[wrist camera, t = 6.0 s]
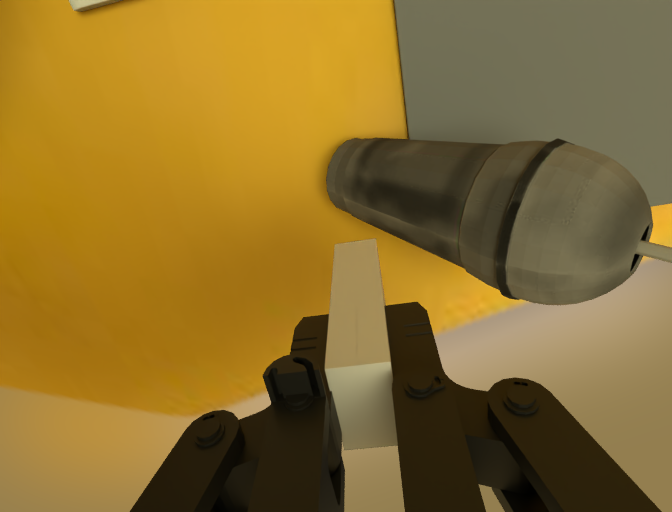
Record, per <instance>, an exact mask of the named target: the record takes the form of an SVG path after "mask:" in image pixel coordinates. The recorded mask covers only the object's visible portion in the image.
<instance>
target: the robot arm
mask: <svg viewBox="0 0 672 512" xmlns="http://www.w3.org/2000/svg"><path fill="white" fill-rule="evenodd" d="M263 379H264V382H265V385H266V388H267V391H268V394H269V397H270V400H271V405H270V406H269V407H267V408H266V409H264V410H262V411H260V412H258V413H256V414H253V415H251V416H248V417H245V418H242V419H240V420H238V418H237V417H236V416H235V415H234V414H233V413H232V412H229V411H225V410H219V411H212V412H209V413H207V414H204V415H202V416H201V417H199V418H198V419H196V420H195V421H193V422H192V423H191V425H190V426H189V427H188V428H187V429H186V430H185V431H184V433H183V434H182V436H181V437H180V439H179V440H178V442H177V443H176V445H175V446H174V448H173V449H172V450H171V452H170V453H169V455H168V456H167V458H166V459H165V461H164V462H163V464H162V465H161V467H160V468H159V470H158V471H157V472H156V474H155V475H154V477H153V478H152V480H151V481H150V483H149V484H148V486H147V487H146V488H145V490H144V491H143V493H142V494H141V496H140V497H139V499H138V501H137V502H136V503H135V505H134V506H133V508H132V509H131V510H130V512H344V488H345V482H344V481H345V469H344V464H343V460H342V456H341V449H342V442H343V446H344V450H353V449H364V448H374V447H385V446H397V445H398V452H399V461H400V470H401V479H402V488H403V497H404V507H405V512H486V510H485V506H484V503H483V499H482V496H481V492H480V488H479V485H478V484H480V485H485V486H489V487H492V490H493V492H494V494H495V495H496V497H497V499H498V500H499V502H500V504H501V505H502V507H503V509H504V511H505V512H661V511H660V509H659V508H657V506H656V505H655V504H654V503H653V502H652V501H651V500H650V499H649V498H648V497H647V496H646V494H645V493H644V492H643V491H642V490H641V489H640V488H639V487H638V486H637V485H636V484H635V483H634V482H633V481H632V479H631V478H630V477H629V476H628V475H627V474H626V473H625V472H624V471H623V470H622V469H621V468H620V466H619V465H618V464H617V463H616V462H615V461H614V460H613V459H612V458H611V457H610V456H609V455H608V454H607V453H606V451H605V450H604V449H603V448H602V447H601V446H600V445H599V444H598V443H597V442H596V441H595V440H594V439H593V437H592V436H591V435H590V434H589V433H588V432H587V431H586V430H585V429H584V428H583V427H582V426H581V425H580V424H579V422H577V420H576V419H575V418H574V417H573V416H572V415H571V414H570V413H569V412H568V411H567V410H566V409H565V407H564V406H563V405H562V404H561V403H560V402H559V401H558V400H557V399H556V398H555V397H554V396H553V394H552V393H551V392H550V391H548V390H547V389H546V388H544V387H543V386H542V385H541V384H539V383H536V382H534V381H531V380H529V379H522V378H509V379H503V380H501V381H499V382H497V383H495V384H494V385H493V386H492V387H491V389H490V390H489V391H480V390H474V389H470V388H465V387H463V386H460V385H458V384H456V383H455V382H453V381H452V380H450V379H449V378H448V376H447V375H446V374H445V372H444V370H443V368H442V364H441V361H440V358H439V354H438V350H437V346H436V343H435V339H434V335H433V332H432V328H431V324H430V321H429V317H428V313H427V310H425V309H424V308H423V307H422V306H421V305H420V304H419V303H418V302H411V303H403V304H396V305H388V306H386V305H385V297H384V291H383V284H382V277H381V270H380V264H379V257H378V250H377V243H376V238H375V239H368V240H361V241H354V242H347V243H340V244H335V249H334V261H333V273H332V285H331V297H330V310H329V314H326V315H318V316H310V317H303V319H302V320H301V321H300V322H299V324H298V325H297V326H296V328H295V330H294V335H293V342H292V346H291V352H290V355H287V356H283V357H281V358H279V359H277V360H276V361H274V362H273V363H272V364H271V365H270V366H268V367H267V369H266V370H265V372H264V374H263Z"/></svg>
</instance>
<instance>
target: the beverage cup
mask: <svg viewBox="0 0 672 512" xmlns="http://www.w3.org/2000/svg"><path fill="white" fill-rule="evenodd" d="M326 181H327V192H328V194H329V197H330V200H331V201H332V203H333V204H334V205H335V206H336V207H337V208H339V209H341V210H343V211H346V212H348V213H350V214H352V216H354V217H356V218H358V219H360V220H362V221H364V222H366V223H368V224H370V225H373V226H375V227H377V228H379V229H381V230H383V231H385V232H388V233H390V234H392V235H394V236H396V237H398V238H400V239H403V240H405V241H407V242H409V243H411V244H413V245H415V246H418V247H420V248H422V249H424V250H426V251H428V252H430V253H433V254H435V255H437V256H439V257H441V258H443V259H445V260H448V261H450V262H452V263H454V264H456V265H458V266H460V267H463V268H465V269H466V271H467V272H468V273H470V274H471V275H473V276H474V277H476V278H478V279H479V280H481V281H483V282H484V283H486V284H488V285H490V286H492V287H494V288H496V289H498V290H500V292H501V294H502V295H503V296H505V297H507V298H510V299H517V300H519V299H523V300H526V301H529V302H533V303H539V304H546V305H567V304H576V303H581V302H584V301H588V300H592V299H594V298H597V297H599V296H601V295H604V294H606V293H608V292H610V291H611V290H613V289H615V288H616V287H617V286H619V285H621V284H622V283H623V282H625V281H626V280H627V279H628V278H629V277H630V276H631V275H632V274H633V273H634V272H635V271H636V269H637V267H638V265H639V263H640V261H641V259H642V257H643V256H647V257H651V258H655V259H659V260H662V261H666V262H670V263H672V248H671V247H667V246H663V245H659V244H655V243H650V242H649V239H650V236H651V232H652V228H653V221H652V213H651V207H650V204H649V202H648V199H647V196H646V194H645V192H644V190H643V189H642V187H641V185H640V184H639V182H638V181H637V180H636V178H635V177H634V176H633V175H632V174H631V173H630V172H629V171H628V170H627V169H626V168H625V167H623V166H622V165H621V164H619V163H618V162H617V161H615V160H613V159H611V158H610V157H608V156H606V155H604V154H602V153H599V152H596V151H593V150H590V149H588V148H585V147H582V146H577V145H575V144H572V143H570V142H567V141H564V140H562V139H559V138H557V139H555V140H553V141H551V142H547V141H538V140H536V141H520V142H510V143H508V144H487V143H467V142H448V141H428V140H408V139H389V138H373V139H358V138H354V139H351V140H347V141H346V142H345V143H343V144H342V145H341V146H340V147H339V148H338V149H337V151H336V152H335V153H334V155H333V157H332V159H331V162H330V164H329V167H328V172H327V178H326Z"/></svg>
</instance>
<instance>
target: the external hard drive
mask: <svg viewBox="0 0 672 512" xmlns="http://www.w3.org/2000/svg"><path fill="white" fill-rule="evenodd" d="M118 1H122V0H69V2H70V4H71V6H72V8H73V10H74V11H86V10H89V9H93V8H96V7H100V6H104V5H107V4H111V3H115V2H118Z"/></svg>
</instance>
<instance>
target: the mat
mask: <svg viewBox="0 0 672 512" xmlns="http://www.w3.org/2000/svg"><path fill="white" fill-rule="evenodd" d="M394 8H395V17H396V26H397V36H398V45H399V54H400V63H401V72H402V82H403V91H404V100H405V109H406V118H407V127H408V137H409V140H428V141H448V142H467V143H487V144H508V143H510V142H520V141H536V140H538V141H547V142H551V141H553V140H555V139H557V138H559V139H562V140H564V141H567V142H570V143H572V144H575V145H577V146H582V147H585V148H588V149H590V150H593V151H596V152H599V153H602V154H604V155H606V156H608V157H610V158H611V159H613V160H615V161H617V162H618V163H619V164H621V165H622V166H623V167H625V168H626V169H627V170H628V171H629V172H630V173H631V174H632V175H633V176H634V177H635V178H636V180H637V181H638V182H639V184H640V185H641V187H642V189H643V190H644V192H645V194H646V196H647V199H648V202H649V204H650V207H651V206H657V205H664V204H670V203H672V0H394Z"/></svg>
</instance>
